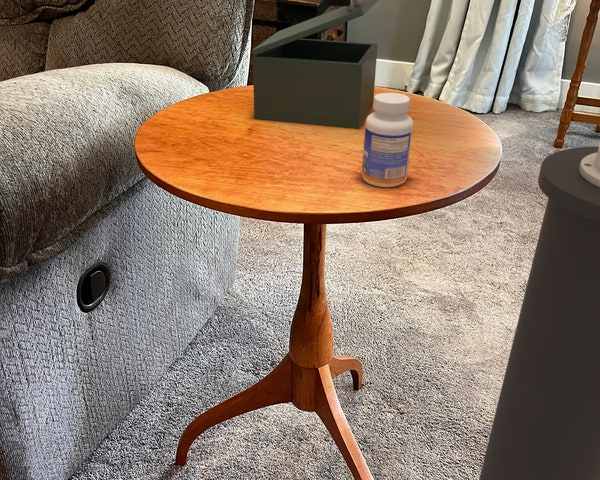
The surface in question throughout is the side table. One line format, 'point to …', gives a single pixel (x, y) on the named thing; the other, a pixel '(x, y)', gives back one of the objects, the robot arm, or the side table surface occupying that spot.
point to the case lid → (315, 25)
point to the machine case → (315, 82)
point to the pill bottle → (387, 141)
